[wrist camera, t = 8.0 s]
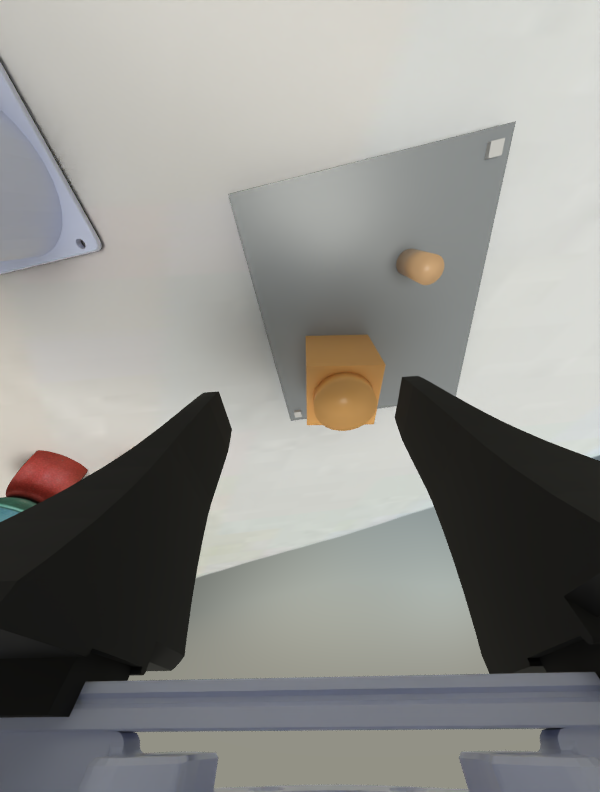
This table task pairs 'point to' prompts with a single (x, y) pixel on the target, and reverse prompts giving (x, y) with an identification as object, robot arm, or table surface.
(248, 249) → the plate
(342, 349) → the cube with round knob
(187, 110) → the table surface
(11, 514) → the stacking stones toy
